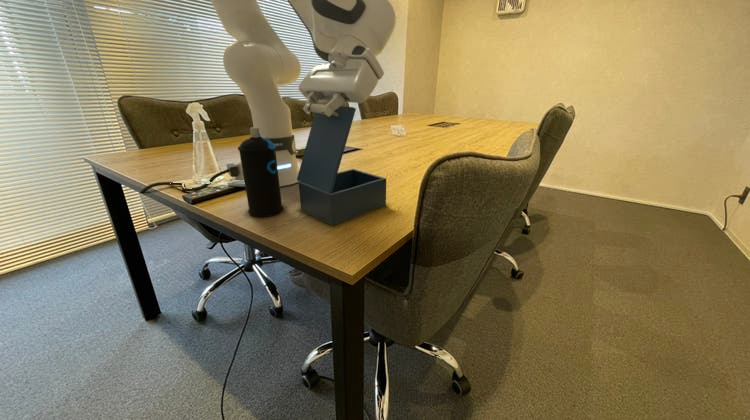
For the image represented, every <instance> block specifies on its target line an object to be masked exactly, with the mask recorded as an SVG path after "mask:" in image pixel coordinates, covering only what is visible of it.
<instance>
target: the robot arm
mask: <svg viewBox="0 0 750 420" xmlns="http://www.w3.org/2000/svg"><path fill="white" fill-rule="evenodd" d="M209 1H210V2H211V5H212V6H213V8H214V10H215V12H216V14H217V17H218V18H219V20H220V23H221V24H222V27H223V28H224V30H225V31H226V32H227V34H228V35H230V37H231V38H234V39H235V42H231V43H230V44H228V45H227V46H226V48H225V49H224V52H223V56H222V62H223V63H222V64H223V68H224V71H225V73H226V75H227V76H228V78H229V79H230V80H231V81H233V82H234V83H235V84H236V85H237V86H238V88H239V89H240V91H241V92H242V94H243V96H244V98H245V100H246V102H247V106H248V107H249V110H250V115H251V120H252V125H253V126H252V127H259V133H260V137H262V138H265V139H268V140H270V141H271V142H272V143H273V144H274V145H276V148H275V151H276V159H277V168H278V176H279V184H280V187H286V186H290V185H294V184H298V182H300V181H298V180H297V177H298V173H299V170H300V167H299V165H298V161H297V156H296V153H297V152H296V151H297V146H296V139H295V135H294V133H293V123H292V115H291V108H290V107H289V105H288V104H286V102H285V101H284V100H283V98H282V96H281V93H280V90H279V87H281V88H282V87H286V86H289V85H292V84H293V83H296V81H298V79H299V78H300V76H301V72H302V71H301V69H302V68H301V67H302V66H301V63H300V60H299V58H298V56H297V55H296V54H295V53H294V52H293V51H292V50H290V49H289V47H288V46H286V44H285V43H284V42H283V40H282V39H281V38H280V36H279V34H278V33H277V32H276V31H275V29H274V28H273V26H272V25H271V23H270V22H269V21H268V19H267V18H266V16H265V14H264V12H263V11H262V8H261V7H260V5H259V2H258V0H209ZM286 1H287V2H288V4H289V5H290V7H291V8H292V10H293V12H295V14H296V15H297V17H298V19H299V20H300V22H301V23H302V24H303V26H304V27H305V29H306V30H307V32H308V35H310V39H311V41H312V46H313V50H314V52H315V54H316V55H317V57H319V58H320V59H322V61H324V62H327V63H322V64H317V65H316V66H314V67H313V68H312V69H311V70H310V71H309V72H308V73H307V74H306V76H305V77H304V78H303V79H302V80H301V82H300V83H299V85H298V91H299V92H300V93H301V94H302V95H303V96H304V98H305V99H306V102H305V104H304V106H303V107H302V110H303V112H305V114H307V115H313V114H314V113H313V112H311V110H310V106H311V104H318V103H319V101H327V103H323V105H324V106H323V108H322V109H321V113H322V114H323V115H324V116H329V117H330V116H331V115H332V113H333V112H334V111H335V110H336V109H337V108H339V107H340V106H344V103H355V104H362V103H364V102H365V101H367V100H368V99H369V98H370V96H371V95H372V93H373V92H374V90H375V89H376V87H377V86H378V83H379V81H380V80H381V79H382V78H383V77H384V75H385V72H384V70H383V68H382V65H381V63H380V62H379V60H378V59H377V57H378V56H379V55H380V54H381V53H382V52H383V51H384V49H385V48H386V46H387V44H388V43H389V42H390V39H391V37H392V36H393V33H394V31H395V28H396V24H397V23H396V21H397V17H396V11H395V9H394V7H393V5H392V3H391V2H390V1H389V0H286ZM225 174H228V175H229V177H230V178H231V177H234V179H231V180H229V179H227V186H231V187H239V188H240V187H241V188H245V184H235V183H228V181H232V180H244V176H243V170H242V164H241V158H239V159H238V160H237V161H236V162H235V163H226V169H224V170H222V171H220V172H217V173H215V174H214V175H213V176H211V177H210V179H209V180H208V181H210V182H212V183H213V181H214V180H215V179H217V178H218V177H221V176H222V175H225ZM173 182H174V181H160V182H153V183H151V184H149V185H147V186H144V188H142V189H141V190H140V192H139V194H145V193H146V192H147V191H148V190H150V189H152V188H155V187H159V186H182V183H184V182H182V183H173ZM170 183H171V184H170ZM212 183H210V184H206V183H203V184H202V185H199V186H196V187H191V188H192V189H184V188H182V187H181V190H182V191H184V192H196V191H200V190H203V189H205V188H207V187H209V186H210V185H211V184H212ZM184 187H185V188H186V183H184Z"/></svg>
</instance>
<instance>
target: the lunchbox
mask: <svg viewBox="0 0 750 420" xmlns="http://www.w3.org/2000/svg"><path fill="white" fill-rule="evenodd" d="M297 185H298V195H299V204H300V206H299V207H300V211H302V212H303V213H305V214H307V215H310V216H312V217H314V218H315V219H317V220H319V221H321V222H323V223H325V224H327V225H329V226H331V227H333V226H336V225H338V224H341V223H344V222H346V221H349V220H351V219H354V218H356V217H359V216H363V215H364V214H367V213H370V212H372V211H375V210H378V209H380V208H383V207H385V206H387V178H385V177H383V176H379V175H376V174H372V173H369V172H365V171H362V170H358V169H354V168H351V169H347V170H343V171H338V173H337V177H336V180H335V184H334V187H333V190H332V193H328V192H325V191H323V190H320V189H318V188H315V187H313V186H310V185H308V184H305V183H303V182H300V181H299V182H297Z"/></svg>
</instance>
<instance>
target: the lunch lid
mask: <svg viewBox="0 0 750 420" xmlns="http://www.w3.org/2000/svg"><path fill="white" fill-rule="evenodd" d="M323 106H324V104H321V103H315V104H311V106H310V110H311V112H313V114H314V115H313V120H312V123H311V126H310V130H309V134H308V137H307V140H306V144H305V148H304V152H303V156H302V159H301V163H300V167H299V173H298V177H297V180H298V181H299V182H303V183H305V184H308V185H310V186H313V187H315V188H318V189H320V190H323V191H325V192H328V193H332V190H333V187H334V184H335V180H336V177H337V173H338V172H339V169H340V166H341V162H342V159H343V155H344V152H345V149H346V145H347V142H348V139H349V135H350V132H351V127H352V124H353V121H354V117H355V115H356V110H357V108H356V107H353V106H344V105H341V106H340V107H339V108H337V109H336V110H335V111H334V112H333V113H332V115H331V116H330V117H329V116H324V115H323V114H322V113H321V109H322V108H323Z"/></svg>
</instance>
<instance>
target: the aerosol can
mask: <svg viewBox="0 0 750 420" xmlns="http://www.w3.org/2000/svg"><path fill="white" fill-rule="evenodd" d="M249 133H250V137H249V138H246V139H244V140H243V141H242V142H241V143H240V144H239V146H237V150H238V151H239V157H240V158H241V164H242V170H243V176H244V182H245V187H244V188H245V192H246V198H247V205H248V211H247V212H248V215H250V217H251V216H252V217H255V218H268V217H273V216H276V215H279V214H280V213H282V212H283V210H284V206H283V203H282V193H281V186H280V184H279V176H278V168H277V159H276V151H275V148H276V145H274V144H273V143H272V142H271V141H270V140H268V139H265V138H262V137H260V133H259V127H254V126H252V127H249ZM240 158H239V159H240Z"/></svg>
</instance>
